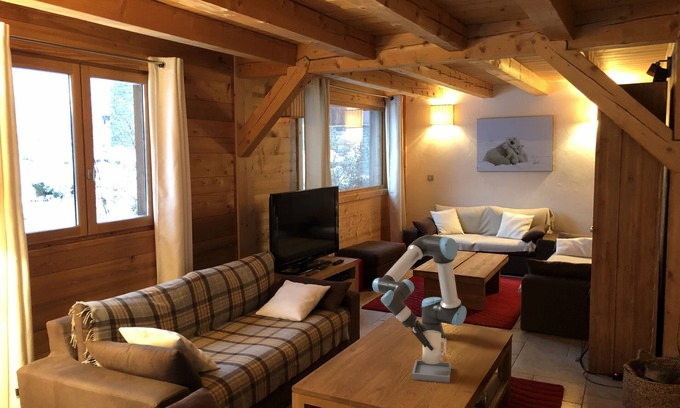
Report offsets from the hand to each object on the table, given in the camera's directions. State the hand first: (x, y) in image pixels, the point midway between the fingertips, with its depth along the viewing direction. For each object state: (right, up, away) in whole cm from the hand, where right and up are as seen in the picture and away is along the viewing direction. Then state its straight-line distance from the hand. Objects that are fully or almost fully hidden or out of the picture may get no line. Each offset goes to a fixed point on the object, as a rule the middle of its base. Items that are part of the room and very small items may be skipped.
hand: (438, 350), depth 279 cm
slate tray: (-3, -12, +2) cm, 13 cm away
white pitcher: (-2, -5, +1) cm, 6 cm away
